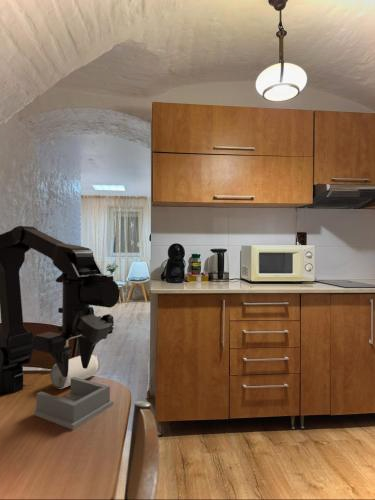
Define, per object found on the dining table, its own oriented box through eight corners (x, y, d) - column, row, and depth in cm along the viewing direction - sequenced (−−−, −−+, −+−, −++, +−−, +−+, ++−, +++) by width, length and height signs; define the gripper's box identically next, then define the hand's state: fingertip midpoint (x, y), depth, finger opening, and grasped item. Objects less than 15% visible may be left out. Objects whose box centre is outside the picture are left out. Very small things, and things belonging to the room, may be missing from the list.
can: (65, 365, 84) (100, 353, 95) (48, 362, 87) (84, 351, 98) (66, 391, 84) (101, 376, 94) (49, 387, 87) (85, 373, 98)
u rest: (33, 415, 73) (34, 394, 72) (76, 393, 83) (76, 376, 83) (73, 430, 67) (73, 407, 67) (113, 405, 77) (113, 386, 77)
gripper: (68, 314, 63) (68, 396, 63) (130, 300, 79) (129, 366, 79) (30, 308, 68) (29, 384, 68) (95, 296, 84) (94, 358, 85)
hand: (75, 372), depth 75 cm, fingers open, 5 cm apart
